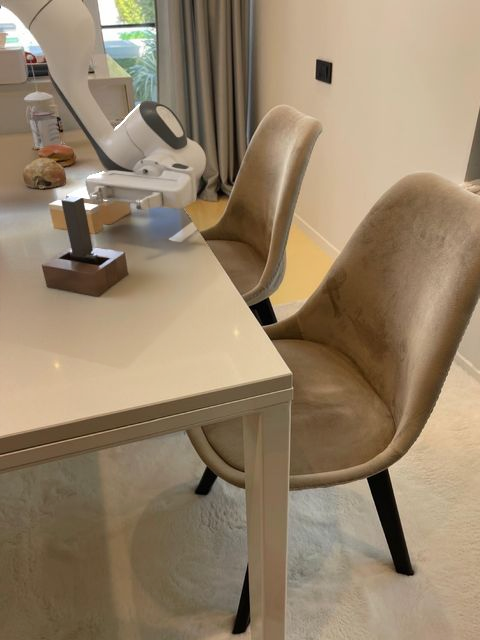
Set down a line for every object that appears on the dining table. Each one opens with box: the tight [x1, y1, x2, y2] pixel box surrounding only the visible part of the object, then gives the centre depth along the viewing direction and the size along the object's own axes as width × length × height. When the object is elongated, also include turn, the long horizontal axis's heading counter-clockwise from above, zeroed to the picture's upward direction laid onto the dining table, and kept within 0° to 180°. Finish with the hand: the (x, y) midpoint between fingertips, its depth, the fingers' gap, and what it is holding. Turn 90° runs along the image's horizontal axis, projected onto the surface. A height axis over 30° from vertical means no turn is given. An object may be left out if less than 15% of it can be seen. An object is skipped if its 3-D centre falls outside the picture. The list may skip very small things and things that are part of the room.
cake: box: [65, 185, 132, 225], centre depth 119 cm, size 10×8×5 cm
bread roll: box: [22, 157, 67, 190], centre depth 138 cm, size 10×10×8 cm
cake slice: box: [48, 199, 104, 235], centre depth 113 cm, size 10×3×5 cm, turn 69°
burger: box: [37, 144, 77, 168], centre depth 153 cm, size 10×9×5 cm
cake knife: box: [60, 196, 99, 266], centre depth 90 cm, size 5×2×14 cm, turn 69°
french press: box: [23, 54, 63, 148], centre depth 163 cm, size 10×12×25 cm
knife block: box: [41, 246, 129, 298], centre depth 93 cm, size 10×9×4 cm
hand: (115, 202), depth 97 cm, fingers open, 8 cm apart
